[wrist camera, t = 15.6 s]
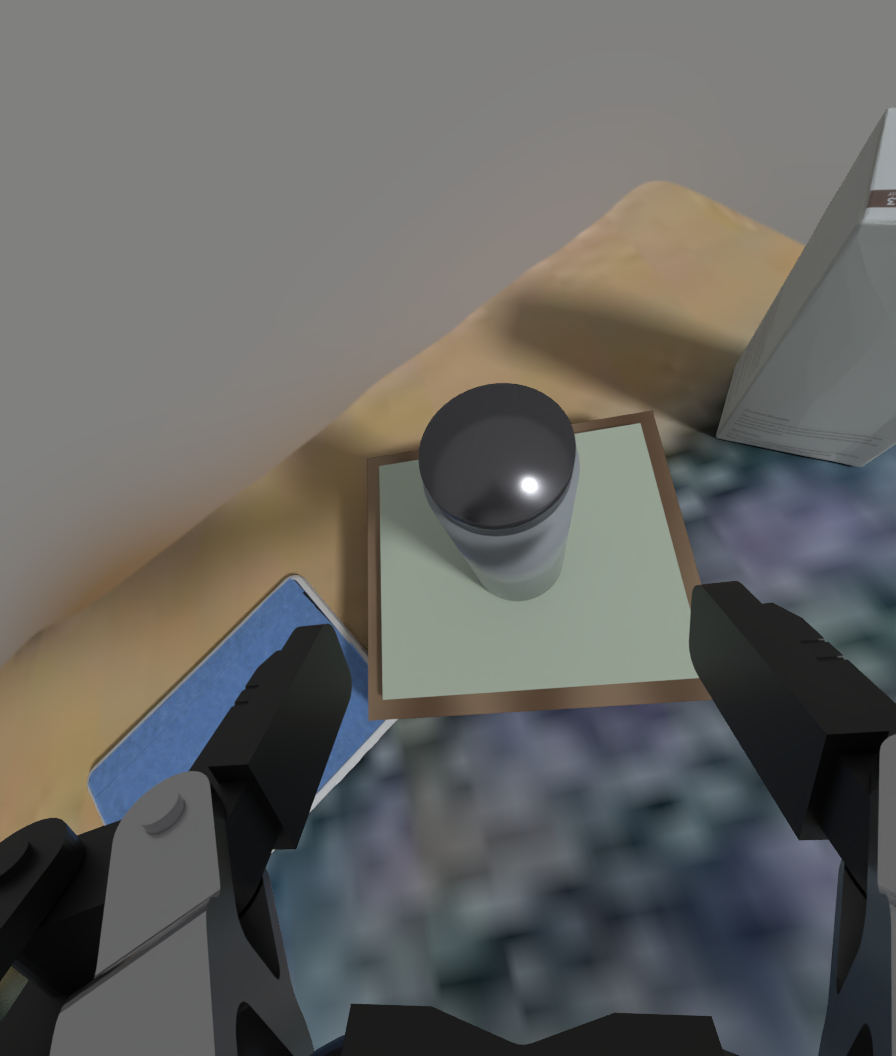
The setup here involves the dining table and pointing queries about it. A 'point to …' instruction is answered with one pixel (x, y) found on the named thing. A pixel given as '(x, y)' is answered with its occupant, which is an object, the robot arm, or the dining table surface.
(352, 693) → the blue notebook
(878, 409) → the skincare box
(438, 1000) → the dining table surface
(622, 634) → the plinth
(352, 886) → the dining table surface
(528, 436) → the ceramic jar
